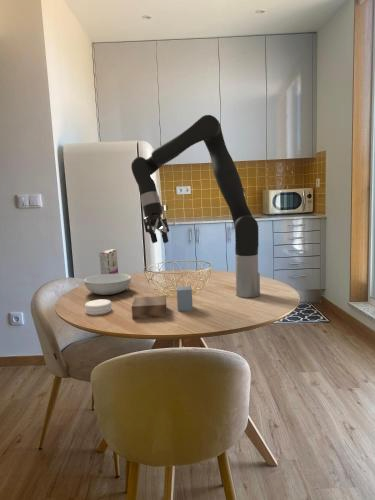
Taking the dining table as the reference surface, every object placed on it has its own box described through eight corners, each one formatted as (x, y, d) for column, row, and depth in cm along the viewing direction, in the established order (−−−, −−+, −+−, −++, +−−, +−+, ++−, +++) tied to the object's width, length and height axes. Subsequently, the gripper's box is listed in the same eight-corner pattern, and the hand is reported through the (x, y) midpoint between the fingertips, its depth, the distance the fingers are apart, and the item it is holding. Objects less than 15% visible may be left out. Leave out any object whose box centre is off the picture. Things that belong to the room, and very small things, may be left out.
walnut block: (166, 308, 150) (166, 295, 149) (166, 318, 138) (165, 304, 137) (135, 310, 149) (134, 297, 148) (132, 320, 137) (131, 306, 137)
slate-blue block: (191, 306, 150) (190, 286, 149) (192, 310, 145) (191, 289, 143) (177, 307, 150) (176, 286, 148) (177, 311, 144) (176, 290, 143)
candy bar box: (110, 280, 202) (107, 249, 200) (119, 280, 201) (117, 249, 199) (101, 285, 192) (98, 252, 189) (110, 285, 191) (108, 252, 188)
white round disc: (106, 315, 144) (105, 306, 143) (81, 315, 145) (80, 306, 145) (115, 307, 153) (115, 298, 153) (91, 307, 155) (91, 298, 154)
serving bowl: (123, 299, 165) (122, 283, 164) (77, 298, 169) (75, 283, 168) (137, 287, 185) (136, 273, 184) (96, 287, 189) (95, 273, 188)
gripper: (149, 200, 152) (158, 240, 150) (167, 203, 164) (177, 240, 162) (134, 206, 155) (143, 245, 153) (153, 208, 168) (162, 244, 166)
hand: (160, 242), depth 158 cm, fingers open, 8 cm apart
